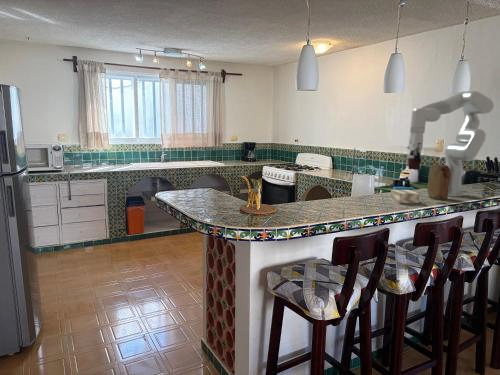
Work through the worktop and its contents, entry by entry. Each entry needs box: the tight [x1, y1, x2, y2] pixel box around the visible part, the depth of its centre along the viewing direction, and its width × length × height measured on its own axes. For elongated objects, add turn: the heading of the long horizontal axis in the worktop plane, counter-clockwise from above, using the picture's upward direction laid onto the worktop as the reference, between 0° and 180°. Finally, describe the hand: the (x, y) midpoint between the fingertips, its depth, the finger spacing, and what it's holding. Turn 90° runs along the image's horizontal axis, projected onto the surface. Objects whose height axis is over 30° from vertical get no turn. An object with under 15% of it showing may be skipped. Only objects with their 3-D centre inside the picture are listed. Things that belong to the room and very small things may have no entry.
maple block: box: [389, 189, 420, 204], centre depth 206 cm, size 11×11×6 cm
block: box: [427, 164, 451, 201], centre depth 214 cm, size 11×8×20 cm
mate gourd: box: [407, 144, 422, 171], centre depth 211 cm, size 8×8×15 cm
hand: (414, 161), depth 212 cm, fingers closed on mate gourd, 7 cm apart
